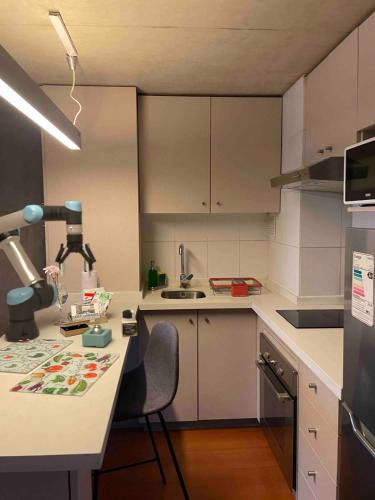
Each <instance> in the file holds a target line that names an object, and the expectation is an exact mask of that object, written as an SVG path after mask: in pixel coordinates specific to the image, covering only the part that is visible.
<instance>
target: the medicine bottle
mask: <svg viewBox="0 0 375 500" xmlns="http://www.w3.org/2000/svg"><path fill="white" fill-rule="evenodd" d="M121 315H122V318H121V319H120V333H121V335H122V337H123V338H125V337H135V336H138V321H137V319H136V311H135V310H133V309H125V310H123V311H122V314H121Z"/></svg>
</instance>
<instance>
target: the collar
mask: <svg viewBox="0 0 375 500" xmlns="http://www.w3.org/2000/svg"><path fill="white" fill-rule="evenodd" d="M112 336H113V332H112V328H102V334H93V327H91V328H89V329H88V330H86V331H85V332H84V333H82V334H81V342H82V343H81V344H82V346H83V347H90V346H96V347H95V348H104V347H105V346H106V345H107V344H109V343H110V341H113V340H112V339H113V337H112Z"/></svg>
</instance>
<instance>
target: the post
mask: <svg viewBox="0 0 375 500" xmlns="http://www.w3.org/2000/svg"><path fill="white" fill-rule="evenodd" d="M92 328H93V334H102V326H101V325H100V324H94V325H93V327H92Z"/></svg>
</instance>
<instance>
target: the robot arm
mask: <svg viewBox="0 0 375 500" xmlns="http://www.w3.org/2000/svg"><path fill="white" fill-rule="evenodd" d="M64 204H65V205H52V204H51V205H48V204H47V205H41V204H39V205H38V204H31V205H26V206H25V207H24V208H23V209H20V210H18V211H16V212H12V213H9V214H6V215H2V216H0V249H1V250H3V251H4V253H5V255H6V256H7V258H8V260H9V262H10V263H11V265H12V267H13V269H14V270H15V272H16V273H17V275H18V277H19V279H20V280H21V282H22V283H23V285H24V286H23V287H17V288H16V287H15V288H14V289H11V290H10V291H8V292H7V296H6V305H7V319H8V321H7V322H8V323H7V326H6V330H5V334H4V337H5V338H4V340H5V339H7V340H10V341H19V340H27V339H31V340H34V339H36V338H39V336H40V329H39V327H38V325H37V322H36V320H35V313H37V312H39V311H42V310H45V309H48V308H50V307H53V306H55V304H56V303H57V302H58V297H59V292H58V288H57V287H56V286H55V285H53V284H51V283H48V282H47V280H46V279H45V278H41V276H40V275H39V273H38V271H37V269H36V268H35V266H34V264H33V263H32V261H31V259H30V258H29V256H28V254H27V253H26V251H25V249H24V247H23V245H22V244H21V243H20V240H21V237H20V235H21V229H20V228H23V227H26V226H29V225H33V224H36V223H41V222H65V228H66V229H65V230H66V236H65V237H66V243H65V242H64V243H60V247H59V250H58V253H57V255H56V257H55V259H54V261H55V263H58V267H59V268H58V269H59V271H60V277H61V278H63V277H66V263H65V260H67V258H68V257H69V256H70V254H71V253H73V254H74V253H75V254H80V255H81V257H82V258H83V259H84V260H85V261H86V263H87V264H86V276H87V277H86V278H88V279H89V278H91V277H92V271H93V264H95V263H96V262H97V260H96V258H95V255H94V253H93V252H92V250H91V248H90V247H91V246H90V243H84V236H83V231H84V230H83V209H82V207H83V206H82V202H81V201H79V200H75V201H74V200H73V201H71V200H69V201H65V203H64ZM66 248H67V249H66ZM65 249H66V251H65ZM84 249H85V250H84ZM64 251H65V253H64ZM33 338H34V339H33ZM7 340H6V341H7ZM10 341H9V342H10ZM27 341H28V340H27Z"/></svg>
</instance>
